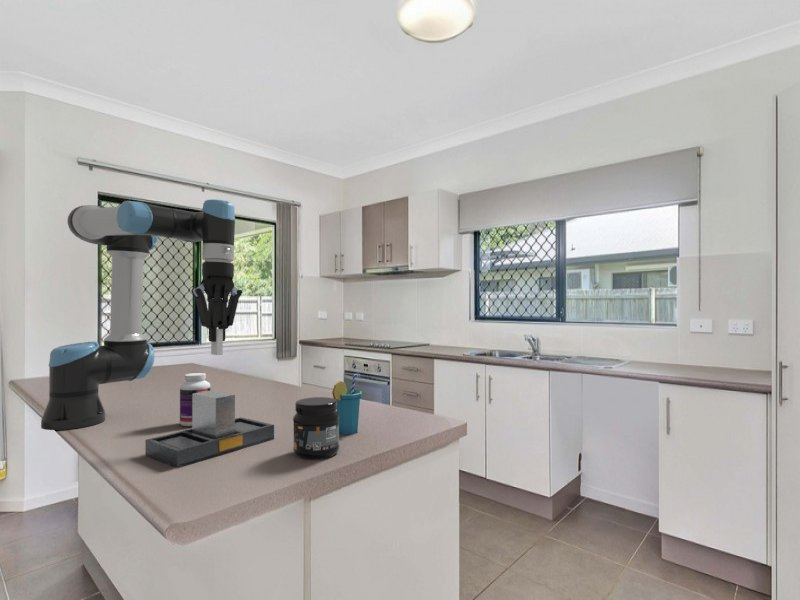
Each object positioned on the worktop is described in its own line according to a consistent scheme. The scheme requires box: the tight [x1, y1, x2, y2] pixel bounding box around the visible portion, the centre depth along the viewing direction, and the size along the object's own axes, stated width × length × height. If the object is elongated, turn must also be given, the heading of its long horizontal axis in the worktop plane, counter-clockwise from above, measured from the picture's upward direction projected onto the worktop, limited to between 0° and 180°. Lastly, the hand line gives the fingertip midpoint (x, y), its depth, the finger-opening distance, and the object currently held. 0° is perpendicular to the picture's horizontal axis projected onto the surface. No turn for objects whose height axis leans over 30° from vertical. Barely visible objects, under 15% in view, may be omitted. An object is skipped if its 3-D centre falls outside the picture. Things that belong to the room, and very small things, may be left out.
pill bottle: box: [179, 372, 211, 428], centre depth 128 cm, size 8×8×14 cm
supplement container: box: [292, 396, 340, 461], centre depth 102 cm, size 10×10×12 cm
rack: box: [144, 416, 275, 469], centre depth 107 cm, size 14×25×4 cm, turn 144°
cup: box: [331, 373, 362, 436], centre depth 120 cm, size 14×8×15 cm, turn 161°
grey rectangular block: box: [191, 389, 236, 440], centre depth 107 cm, size 10×5×12 cm, turn 54°
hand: (216, 354), depth 112 cm, fingers closed
